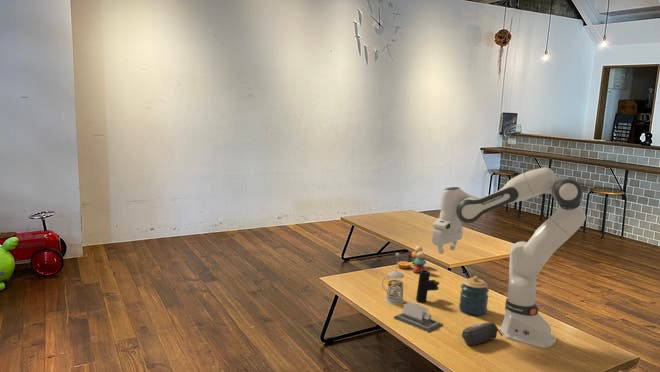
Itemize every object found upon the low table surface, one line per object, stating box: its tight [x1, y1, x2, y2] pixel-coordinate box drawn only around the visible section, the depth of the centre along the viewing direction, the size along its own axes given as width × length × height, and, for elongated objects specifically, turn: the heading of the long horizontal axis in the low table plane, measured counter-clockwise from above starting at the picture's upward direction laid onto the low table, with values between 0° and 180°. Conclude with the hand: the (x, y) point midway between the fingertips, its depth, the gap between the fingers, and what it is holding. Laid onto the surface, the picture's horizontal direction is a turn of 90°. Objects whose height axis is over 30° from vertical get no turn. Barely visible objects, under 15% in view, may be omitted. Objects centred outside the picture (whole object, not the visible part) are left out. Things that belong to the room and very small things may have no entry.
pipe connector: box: [415, 269, 440, 303], centre depth 246 cm, size 12×5×15 cm, turn 122°
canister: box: [458, 275, 490, 317], centre depth 234 cm, size 13×13×18 cm
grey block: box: [402, 301, 432, 324], centre depth 220 cm, size 4×12×6 cm, turn 46°
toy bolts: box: [397, 245, 427, 274], centre depth 294 cm, size 18×17×12 cm
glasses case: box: [461, 321, 504, 346], centre depth 203 cm, size 18×10×8 cm, turn 120°
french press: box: [381, 252, 405, 306], centre depth 242 cm, size 10×12×25 cm
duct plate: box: [393, 312, 443, 333], centre depth 221 cm, size 19×11×2 cm, turn 44°
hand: (446, 251), depth 224 cm, fingers open, 8 cm apart
